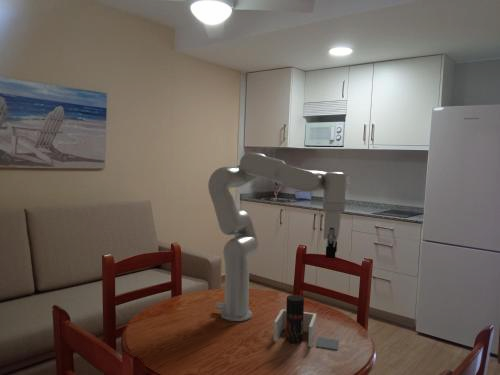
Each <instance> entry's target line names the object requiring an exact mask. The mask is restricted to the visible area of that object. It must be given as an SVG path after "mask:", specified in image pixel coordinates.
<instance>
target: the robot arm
mask: <svg viewBox="0 0 500 375" xmlns="http://www.w3.org/2000/svg"><path fill="white" fill-rule="evenodd" d="M257 178H259V179H260V178H261V179H264V180H268V181H271V182H274V183H277V184H279V185H282V186H285V187H287V188H289V189H293V190H296V191H300V192H304V193H313V192H321V191H323V200H322V201H323V202H322V212H325V213H324V214H325V216H324V226H323V237H322V238H323V240H326V246H325V258H326V259H336V253H337V252H338V239H339V235H340V228H341V219H342V218H341V217H342V213H345V209H346V189H347V175H346V173H344V172H339V171H329V172H328V171H321V170H307V169H303V168H300V167H296V166H292V165H290V164H287V163H286V161H284V160H282V159H278V158H275V157H270V156H266V155H265V154H264V153H260V152H246V153H245V154H243V155H242V156H241V158H240V160H239V165H236V166H222V167H219V168H217V169H216V170H214V171H213V173H211V175H210V177H209V179H208V185H207V186H208V193H209V195H210V196H209V197H210V198H211V201H212V204H213V208H214V212H215V215H216V219H217V222H218V225H219V226H218V227H219V228H220V231H221V232H222V234H223V235H226V236H232V235H233V236H234V237H233V238H231V239H230V240H228V241H227V242H226V243H225V245H224V246H223V258H224V268H225V270H224V275H225V276H224V277H225V278H224V279H225V280H224V302H219V301H217V302H215V309H217V310H221V312H220V317H221V318H222V319H223V320H226V321H228V322H229V321H230V322H243V321H247V320H249V319H251V318H252V317H253V312H252V310H250V308H249V300H250V299H249V296H250V268H249V264H248V259H249V258H251V257H252V256H255V254H256V253H257V252H258V249H259V241H258V238H257V234H256V230H255V227H254V224H253V221H252V218H251V216H250V215H249V213H248V212H247V211H245V210H243V209H238V208H237V206H236V202H235V199H234V196H233V195H232V194H231V191H230V189H232V188H239V187H240V188H241V187H244V186H245V185H247V184H248V183H251V182H252V181H253V180H255V179H257Z"/></svg>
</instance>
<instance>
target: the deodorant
mask: <svg viewBox="0 0 500 375" xmlns="http://www.w3.org/2000/svg"><path fill="white" fill-rule="evenodd" d="M304 308H305V299H304V296H302V295H298V294H289V295H287V296H286V309H285V310H286V329H285V342H287V343H289V344H295V345H297V344H301V343H302V342H304V341H303V340H304V332H303V314H304V312H305V311H304Z"/></svg>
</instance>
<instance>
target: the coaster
mask: <svg viewBox="0 0 500 375" xmlns="http://www.w3.org/2000/svg"><path fill="white" fill-rule="evenodd" d="M339 342H340V340H339V339H335V338H334V339H333V338H329V337H328V338H326V337H319V336H318V338H317V341H316V345H315V347H316V348H318V349H319V348H320V349H325V350H326V349H327V350H333V351H338V349H339Z"/></svg>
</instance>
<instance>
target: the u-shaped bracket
mask: <svg viewBox="0 0 500 375" xmlns="http://www.w3.org/2000/svg"><path fill="white" fill-rule="evenodd" d="M273 323H274V324H273V342H275V343H276V342H278V340H279V337H280V336H281V334H282V332H283V330H286V309H282V308H281V310H280V311H279V312H278V314H277V316H276V318H275V320H274V321H273ZM303 333H308V345H307V346H308V347H309V348H312V346H313V343H314V339H315V337H316V333H317V313H315V312H305V311H304V314H303Z"/></svg>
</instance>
